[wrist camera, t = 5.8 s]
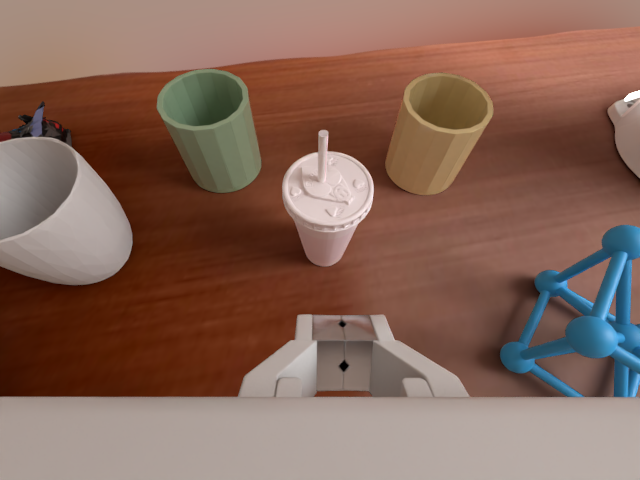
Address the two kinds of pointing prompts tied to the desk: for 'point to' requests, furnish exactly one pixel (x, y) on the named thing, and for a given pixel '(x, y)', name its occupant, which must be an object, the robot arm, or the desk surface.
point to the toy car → (38, 128)
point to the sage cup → (212, 128)
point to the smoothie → (327, 200)
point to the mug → (58, 215)
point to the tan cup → (436, 131)
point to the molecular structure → (588, 318)
